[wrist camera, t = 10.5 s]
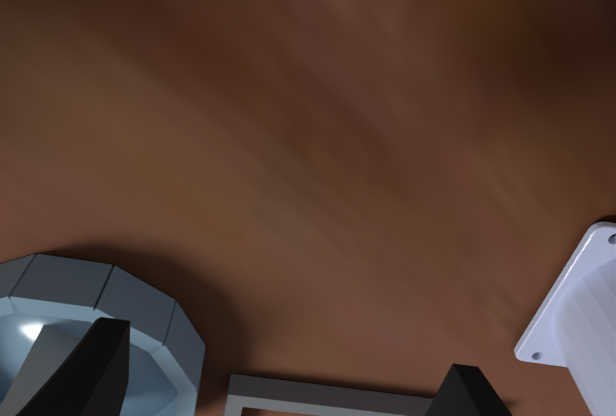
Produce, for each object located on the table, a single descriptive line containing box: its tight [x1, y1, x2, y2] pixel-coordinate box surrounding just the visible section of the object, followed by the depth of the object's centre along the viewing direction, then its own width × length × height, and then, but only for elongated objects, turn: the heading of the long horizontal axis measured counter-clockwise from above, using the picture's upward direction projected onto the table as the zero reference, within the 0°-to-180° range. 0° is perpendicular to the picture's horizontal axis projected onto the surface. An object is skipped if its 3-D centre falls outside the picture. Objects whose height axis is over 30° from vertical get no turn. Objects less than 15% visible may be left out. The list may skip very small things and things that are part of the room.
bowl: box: [0, 254, 206, 416], centre depth 24 cm, size 12×12×2 cm
